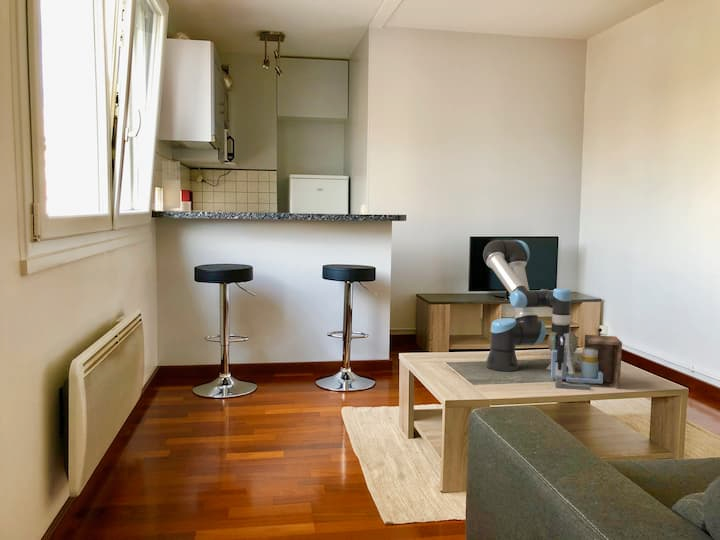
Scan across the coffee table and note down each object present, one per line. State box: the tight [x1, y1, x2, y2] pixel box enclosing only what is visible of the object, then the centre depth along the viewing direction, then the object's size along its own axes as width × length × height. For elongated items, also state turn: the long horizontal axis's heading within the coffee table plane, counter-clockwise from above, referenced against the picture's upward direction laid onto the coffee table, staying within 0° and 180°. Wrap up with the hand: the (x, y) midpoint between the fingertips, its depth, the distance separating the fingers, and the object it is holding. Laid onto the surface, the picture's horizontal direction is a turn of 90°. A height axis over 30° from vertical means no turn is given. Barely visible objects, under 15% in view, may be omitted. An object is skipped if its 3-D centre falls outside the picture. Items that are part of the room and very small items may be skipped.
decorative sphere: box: [546, 330, 579, 353], centre depth 308 cm, size 15×15×15 cm
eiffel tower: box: [545, 310, 582, 375], centre depth 282 cm, size 13×13×30 cm
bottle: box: [580, 347, 599, 385], centre depth 260 cm, size 7×7×15 cm
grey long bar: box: [554, 375, 591, 391], centre depth 251 cm, size 14×2×5 cm, turn 77°
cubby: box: [583, 334, 623, 390], centre depth 258 cm, size 13×13×20 cm
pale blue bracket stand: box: [550, 350, 604, 384], centre depth 260 cm, size 20×10×12 cm, turn 78°
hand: (558, 374), depth 263 cm, fingers closed on pale blue bracket stand, 4 cm apart
